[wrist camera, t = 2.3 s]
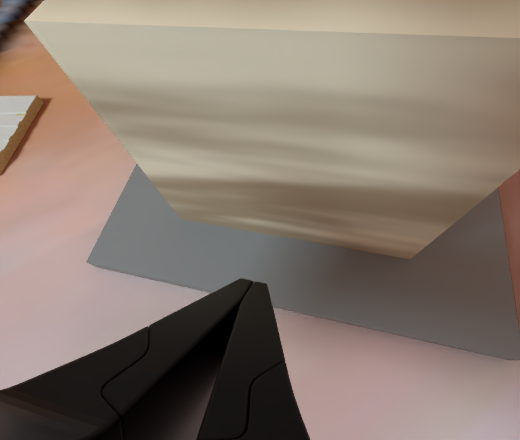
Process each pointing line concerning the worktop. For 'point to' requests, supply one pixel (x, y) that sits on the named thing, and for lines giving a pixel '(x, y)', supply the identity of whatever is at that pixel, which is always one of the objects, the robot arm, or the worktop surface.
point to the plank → (304, 108)
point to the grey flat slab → (331, 271)
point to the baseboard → (15, 123)
